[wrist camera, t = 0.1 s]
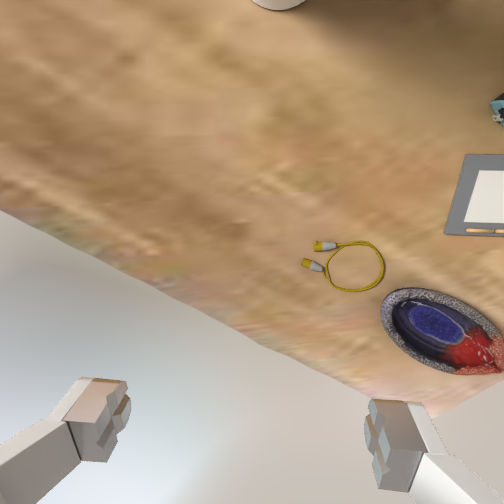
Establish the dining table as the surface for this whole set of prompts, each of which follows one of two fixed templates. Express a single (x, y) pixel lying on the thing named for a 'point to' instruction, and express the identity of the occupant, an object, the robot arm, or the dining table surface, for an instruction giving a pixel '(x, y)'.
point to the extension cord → (331, 245)
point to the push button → (498, 109)
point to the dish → (442, 332)
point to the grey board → (478, 197)
